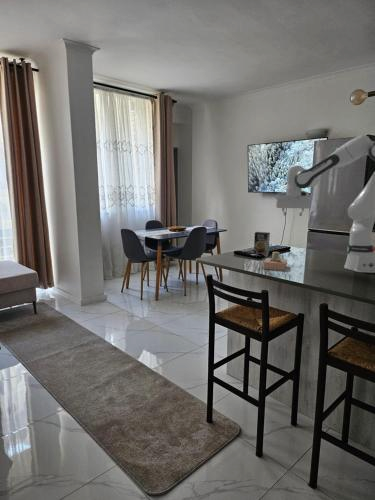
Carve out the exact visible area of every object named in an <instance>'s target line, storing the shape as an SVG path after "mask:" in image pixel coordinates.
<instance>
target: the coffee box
mask: <svg viewBox="0 0 375 500" xmlns="http://www.w3.org/2000/svg"><path fill="white" fill-rule="evenodd" d="M270 235H271V232H267V231H266V232H264V231H255V232H254V239H253V241H254V242H253V243H254V244H253V245H254V246H253V254H254V253H258V254H262V255H264V256H265V257H264V258H268V257H269V256H268V254H270V253H269V252H270V238H271V237H270Z"/></svg>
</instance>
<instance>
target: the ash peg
mask: <svg viewBox="0 0 375 500" xmlns="http://www.w3.org/2000/svg"><path fill="white" fill-rule="evenodd" d="M280 254H281V253H280V252H279V251H273V252H272V256H271V258H272V262H279V259H280Z"/></svg>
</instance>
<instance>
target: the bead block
mask: <svg viewBox="0 0 375 500" xmlns="http://www.w3.org/2000/svg"><path fill="white" fill-rule="evenodd" d="M262 263H263V266H262V267H263V270H272V269H273V271H274V270H276V271H284V272H285V271H286V268H287V265H288V259H285V258H279V262H272V257H265V259H264V261H263V262H262Z"/></svg>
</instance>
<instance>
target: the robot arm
mask: <svg viewBox="0 0 375 500" xmlns="http://www.w3.org/2000/svg"><path fill="white" fill-rule="evenodd" d="M365 156H369V158H370V159H371V160H372V161H374V162H375V140H372V139H370V137H369V136H367V135H365V134H360V135H358V136H355V137H353V138H352V139H350V140H348V141H346V143H343V144H342V145H341V146H339V147H338V148H337V149H336V150H335V151H334V152H332V153H331V154H329V155H328V156H327V157H326V158H324V159H322V160H321V161H319V162H318V163H316V164H315V165H313V166H311V167H310V168H307V169H306V168H304V167H303V166H302V165H294V166H291V167H289V168H288V170H287V177H286V182H287V185H286V192H283V193H282V192H278V194H276V197H275V198H276V203H275V205H276V208H277V209H281V210H282V212H283V216H287V211H285V209H301V212H298V213H299V216H300V217H302V216H303V212H304V211H305V209H310V208H311V197H309V196H310V193H309V192H308V191H305V190H302V189H306V188H307V189H309V188H313V187H316V185H318V184H319V180H320V178H319V177H320V176H321V175H323V174H324V173H326V172H328V171H329V170H332V169H333V170H334V169H337V168H344V167H347V166H349V165H350V164H352V163H354V162H356V161H357V160H359V159H361V158H362V157H365ZM347 215H348V217H349V218H350V219H351V220H353V222H352V224H351V225H352V226H351V228H350V231H349V239H348V244H347V257H346V259H345V260H346V261H345V264H344V266H343V268H344V269H347V270H349V271H354V272H357V273H368V274H369V273H373V274H374V273H375V246H374V245H372V235H373V228H374V226H375V225H374V224H375V171H374V172H373V173H372V175H371V177H370V178H369V180H368V182H367V183H366V185H365V186H364V188H363V189H362V190H361V191H360V192H359V194H358V195H357V197H356V198H355V199H354V200H353V202H352V203H351V204H350V205H349V206H348V208H347Z"/></svg>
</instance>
